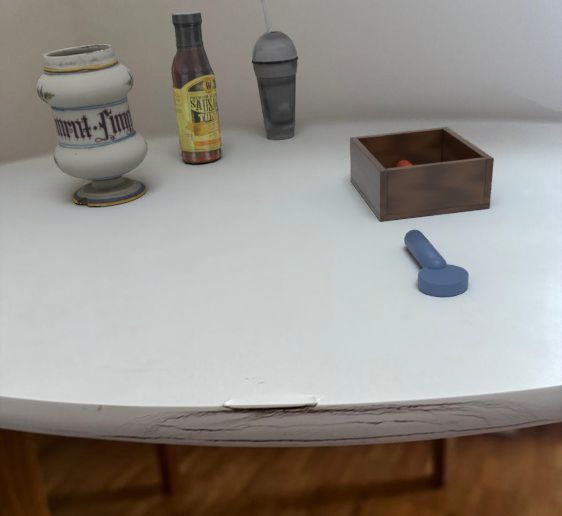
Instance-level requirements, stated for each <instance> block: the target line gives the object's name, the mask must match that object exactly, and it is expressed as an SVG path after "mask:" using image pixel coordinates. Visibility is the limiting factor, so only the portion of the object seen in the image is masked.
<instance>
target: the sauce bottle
mask: <svg viewBox="0 0 562 516" xmlns="http://www.w3.org/2000/svg"><path fill="white" fill-rule="evenodd" d="M202 22H203V19H202V13H201V11H182V12H181V11H180V12H174V13H173V12H172V13H171V23H172V25H173V28H174V36H175V47H176V52H175V55H174V57H173V59H172V63H171V68H170V69H171V70H170V71H171V79H172V92H173V93H172V94H173V101H174V110H175V118H176V125H177V136H178V142H179V149H180V150H181V159H182V161H183V162H185V163H189V164H204V163H210V162H215V161H217V160H218V159H220V158H221V157H222V138H221V137H222V135H221V126H220V125H221V124H220V115H219V102H218V93H217V83H216V75H215V73H214V70H213V69H212V66H211V64H210V61H209V58H208V56H207V52H206V50H205V47H204V41H203V33H202V32H203V31H202Z"/></svg>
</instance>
